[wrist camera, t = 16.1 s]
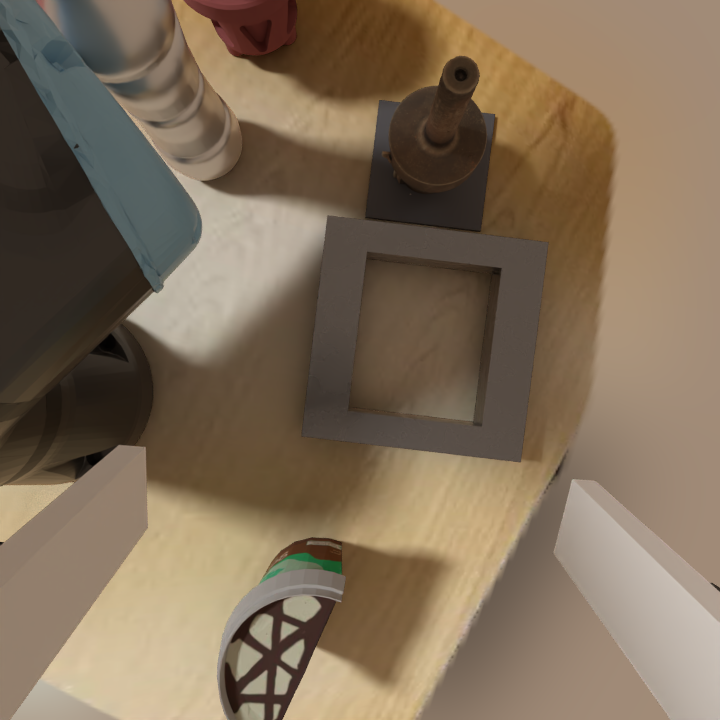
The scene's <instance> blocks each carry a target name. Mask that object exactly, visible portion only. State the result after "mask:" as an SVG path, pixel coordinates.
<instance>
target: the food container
mask: <svg viewBox="0 0 720 720" xmlns="http://www.w3.org/2000/svg"><path fill="white" fill-rule="evenodd" d="M345 580H346V576H343V575H342V543H341V542H338V541H335V540H332V539H329V538H308V539H304V540H300V541H296V542H294V543H292V544H291V545H289V546H288V547H286V548H285V549H283V550H281V551H280V553H279V554H278V555H277V556H276V557H275V558H274V560H273V561H272V562H271V564H270V566H269V568H268V569H267V571H266V573H265V575H264V576H263V578H262V580H261V582H260V583H259V585H258V586H256V587H255V588H253V589H252V590H251V591H250V592H249V593H248V594H247V595H246V596H245V597H243V598H242V600H241V601H240V602H239V604H238V605H237V606H236V607H235V609H234V610H233V612H232V614H231V616H230V618H229V619H228V621H227V624H226V627H225V630H224V632H223V636H222V641H221V647H220V652H219V658H218V667H217V680H218V688H219V695H220V701H221V704H222V707H223V711H224V714H225V716H226V718H227V720H282V719H283V717H284V715H285V713H286V711H287V708H288V706H289V704H290V702H291V700H292V698H293V696H294V693H295V691H296V689H297V687H298V685H299V683H300V681H301V679H302V677H303V675H304V673H305V671H306V668H307V666H308V664H309V661H310V659H311V657H312V654H313V652H314V650H315V647H316V645H317V643H318V641H319V638H320V636H321V634H322V632H323V629H324V627H325V625H326V623H327V621H328V618H329V616H330V614H331V612H332V610H333V607H334V605H335V603H336V601H338V602H341V601H342V594H343V592H344V586H345Z"/></svg>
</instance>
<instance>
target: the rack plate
mask: <svg viewBox="0 0 720 720" xmlns="http://www.w3.org/2000/svg"><path fill="white" fill-rule="evenodd" d="M548 243H549V242H542V241H533V240H525V239H517V238H509V237H501V236H492V235H484V234H476V233H468V232H460V231H451V230H443V229H435V228H427V227H419V226H411V225H402V224H394V223H386V222H378V221H370V220H361V219H353V218H345V217H337V216H329V215H328V216H327V224H326V233H325V241H324V250H323V258H322V267H321V275H320V284H319V292H318V301H317V309H316V318H315V326H314V334H313V343H312V351H311V360H310V368H309V377H308V385H307V394H306V402H305V411H304V419H303V427H302V436H304V437H312V438H320V439H329V440H337V441H346V442H354V443H362V444H371V445H379V446H388V447H396V448H405V449H413V450H421V451H430V452H438V453H447V454H455V455H463V456H472V457H480V458H489V459H497V460H506V461H514V462H521V455H522V448H523V440H524V432H525V424H526V416H527V408H528V400H529V392H530V384H531V377H532V369H533V361H534V353H535V345H536V337H537V329H538V321H539V314H540V306H541V298H542V290H543V282H544V274H545V266H546V258H547V250H548ZM366 259H374V260H382V261H390V262H398V263H407V264H415V265H423V266H431V267H440V268H448V269H456V270H464V271H472V272H481V273H489V274H492V276H491V285H490V293H489V301H488V309H487V317H486V325H485V333H484V341H483V349H482V357H481V365H480V373H479V381H478V389H477V397H476V405H475V413H474V421H473V422H471V421H463V420H454V419H446V418H437V417H429V416H421V415H412V414H404V413H395V412H387V411H379V410H370V409H362V408H354V407H349V399H350V391H351V382H352V374H353V366H354V357H355V349H356V341H357V332H358V324H359V316H360V307H361V299H362V291H363V282H364V274H365V266H366Z"/></svg>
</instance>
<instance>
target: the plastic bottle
mask: <svg viewBox="0 0 720 720" xmlns="http://www.w3.org/2000/svg"><path fill="white" fill-rule="evenodd" d="M36 2H37V3H38V4H39V5H40V6H41V8H42V9H43V10H44V11H45V12H46V14H47V15H48V16H49V17H50V19H51V20H52V21H53V22H54V23H55V25H56V26H57V28H58V29H59V31H60V32H61V33H62V35H63V36H64V37H65V38H66V39H67V41H68V42H69V43H70V44H71V45H72V47H73V48H74V49H75V50H76V51H77V53H78V54H79V55H80V56H81V58H82V59H83V61H84V62H85V64H86V65H87V66H88V67H89V68H90V69H91V70H92V71H93V72H94V73H95V75H96V76H97V77H98V78H99V80H100V81H101V82H102V83H103V84H104V86H105V87H106V88H107V89H108V91H109V92H110V93H111V94H112V96H113V97H114V98H115V99H116V101H117V102H118V103H119V104H121V105H122V106H123V107H124V108H125V109H126V110H127V111H128V112H129V113H130V114H131V115H132V116H134V117H135V118H136V119H137V120H138V122H139V123H140V124H141V126H142V127H143V128H144V129H145V131H146V132H147V133H148V135H149V136H150V137H151V139H152V141H153V142H154V144H155V146H156V148H157V150H158V151H159V153H160V154H161V156H162V157H163V158H164V160H165V161H166V162H167V163H168V164H169V165H170V166H171V167H172V168H173V169H175V170H176V171H178V172H180V173H182V174H183V175H185V176H187V177H189V178H192V179H195V180H203V181H206V180H213V179H216V178H219V177H221V176H223V175H225V174H226V173H228V172H229V171H230V170H231V169H232V168H233V167H234V166H235V165H236V163H237V161H238V159H239V157H240V154H241V151H242V135H241V131H240V127H239V123H238V120H237V118H236V116H235V114H234V112H233V111H232V110H231V109H230V107H229V106H228V105H227V104H226V103H225V101H224V100H223V99H222V98H221V97H220V96H219V95H218V94H217V93H216V92H215V91H214V89H213V88H212V87H211V85H210V84H209V82H208V81H207V80H206V78H205V77H204V76H203V74H202V73H201V71H200V69H199V67H198V65H197V63H196V61H195V59H194V57H193V55H192V53H191V51H190V49H189V47H188V45H187V43H186V40H185V37H184V34H183V32H182V29H181V26H180V23H179V21H178V18H177V15H176V12H175V10H174V7H173V5H172V1H171V0H36Z"/></svg>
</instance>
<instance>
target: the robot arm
mask: <svg viewBox="0 0 720 720" xmlns="http://www.w3.org/2000/svg"><path fill="white" fill-rule="evenodd" d="M201 234H202V220H201V216H200V213H199V210H198V208H197V206H196V205H195V203H194V202H193V200H192V199H191V197H190V196H189V194H188V193H187V192H186V190H185V189H184V187H183V186H182V185H181V183H180V182H179V181H178V179H177V178H176V177H175V175H174V174H173V173H172V171H171V170H170V169H169V167H168V166H167V165H166V163H165V162H164V161H163V159H162V158H161V157H160V156H159V154H158V153H157V152H156V150H155V149H154V148H153V146H152V145H151V144H150V143H149V141H148V140H147V139H146V137H145V136H144V135H143V134H142V132H141V131H140V130H139V128H138V127H137V126H136V125H135V123H134V122H133V121H132V120H131V118H130V117H129V116H128V115H127V113H126V112H125V111H124V110H123V108H122V107H121V106H120V104H119V103H118V102H117V101H116V99H115V98H114V97H113V96H112V94H111V93H110V92H109V91H108V89H107V88H106V87H105V86H104V84H103V83H102V82H101V81H100V80H99V78H98V77H97V76H96V75H95V73H94V72H93V71H92V70H91V69H90V68H89V67H88V66H87V65H86V64H85V62H84V61H83V59H82V58H81V56H80V55H79V54H78V53H77V51H76V50H75V49H74V48H73V47H72V45H71V44H70V43H69V42H68V41H67V39H66V38H65V37H64V36H63V35H62V33H61V32H60V31H59V29H58V28H57V26H56V25H55V23H54V22H53V21H52V20H51V19H50V17H49V16H48V15H47V14H46V12H45V11H44V10H43V9H42V8H41V6H40V5H39V4H38V3H37V2H36V0H0V486H3V485H56V484H63V483H68V482H73V481H76V480H77V481H76V482H75V483H74V484H72V485H71V486H70V487H69V488H68V489H67V490H65V491H64V492H63V493H62V494H61V495H59V496H58V497H57V498H56V499H55V500H54V501H52V502H51V503H50V504H49V505H48V506H47V507H45V508H44V509H43V510H42V511H41V512H39V513H38V514H37V515H36V516H35V517H34V518H32V519H31V520H30V521H29V522H28V523H26V524H25V525H24V526H23V527H22V528H21V529H19V530H18V531H17V532H16V533H15V534H13V535H12V536H11V537H10V538H9V539H8V540H6V541H5V542H0V720H10V719H11V718H12V716H13V715H14V714H15V712H16V711H17V709H18V708H19V707H20V705H21V704H22V703H23V701H24V700H25V698H26V697H27V696H28V694H29V693H30V691H31V690H32V689H33V687H34V686H35V684H36V683H37V682H38V680H39V679H40V677H41V676H42V675H43V673H44V672H45V670H46V669H47V668H48V666H49V665H50V663H51V662H52V661H53V659H54V658H55V656H56V655H57V654H58V652H59V651H60V649H61V648H62V647H63V645H64V644H65V643H66V641H67V640H68V638H69V637H70V636H71V634H72V633H73V631H74V630H75V629H76V627H77V626H78V624H79V623H80V622H81V620H82V619H83V617H84V616H85V615H86V613H87V612H88V610H89V609H90V608H91V606H92V605H93V603H94V602H95V601H96V599H97V598H98V596H99V595H100V594H101V592H102V591H103V589H104V588H105V587H106V585H107V584H108V583H109V581H110V580H111V578H112V577H113V576H114V574H115V573H116V571H117V570H118V569H119V567H120V566H121V564H122V563H123V562H124V560H125V559H126V557H127V556H128V555H129V553H130V552H131V550H132V549H133V548H134V546H135V545H136V543H137V542H138V541H139V539H140V538H141V536H142V535H143V534H144V532H145V531H146V529H147V528H148V517H147V477H146V447H140V446H134V445H135V443H136V442H137V441H138V439H139V438H140V436H141V434H142V432H143V430H144V428H145V426H146V424H147V421H148V418H149V415H150V411H151V407H152V399H153V385H152V377H151V372H150V368H149V365H148V362H147V359H146V357H145V354H144V352H143V350H142V349H141V347H140V345H139V344H138V342H137V341H136V339H135V338H134V337H133V336H132V334H131V333H130V332H129V331H128V330H127V329H126V328H125V327H124V326H123V325H122V324H121V323H122V322H123V321H124V320H125V319H126V318H127V317H128V316H129V315H130V314H131V313H132V312H133V311H134V310H135V309H136V308H137V307H138V306H139V305H140V304H141V303H142V302H143V301H145V300H146V299H147V298H148V297H149V296H150V295H151V294H152V293H153V292H156V293H159V292H160V291H161V290H162V289H163V287H164V285H163V282H164V281H165V280H166V279H167V277H168V276H169V275H170V274H171V273H172V272H173V271H174V270H175V269H176V268H177V267H178V266H179V265H180V264H181V263H182V262H183V261H184V260H185V258H186V257H187V256H188V255H189V254H190V253H191V252H192V251H193V250H194V249H195V247H196V246H197V244H198V243H199V240H200V238H201ZM554 555H555V556H556V558H557V559H558V560H559V562H560V563H561V565H562V566H563V568H564V569H565V570H566V572H567V573H568V575H569V576H570V577H571V579H572V580H573V582H574V583H575V584H576V586H577V587H578V589H579V590H580V592H581V593H582V594H583V596H584V597H585V599H586V600H587V602H588V603H589V604H590V606H591V607H592V609H593V610H594V612H595V613H596V614H597V616H598V617H599V619H600V620H601V622H602V623H603V624H604V626H605V627H606V629H607V630H608V631H609V633H610V634H611V635H612V637H613V638H614V640H615V641H616V643H617V644H618V646H619V647H620V649H621V650H622V651H623V653H624V654H625V656H626V657H627V658H628V660H629V661H630V663H631V664H632V666H633V667H634V668H635V670H636V671H637V673H638V674H639V675H640V677H641V678H642V680H643V681H644V683H645V684H646V685H647V687H648V688H649V690H650V691H651V693H652V694H653V695H654V697H655V698H656V700H657V701H658V702H659V704H660V705H661V707H662V708H663V709H664V711H665V712H666V714H667V715H668V717H669V718H670V719H671V720H720V588H719V587H718V586H716V585H715V584H713V583H709V582H708V581H707V580H706V579H705V578H704V577H703V576H701V575H700V574H699V573H698V572H697V571H696V570H694V568H692V567H691V566H690V565H689V564H688V563H687V562H686V561H685V560H684V559H682V558H681V557H680V556H679V555H678V554H677V553H676V552H675V551H674V550H672V549H671V548H670V547H669V546H668V545H667V544H666V543H665V542H663V541H662V540H661V539H660V538H659V537H658V536H657V535H655V534H654V533H653V532H652V531H651V530H650V529H649V528H648V527H647V526H646V525H644V524H643V523H642V522H641V521H640V520H639V519H638V518H637V517H636V516H634V515H633V514H632V513H631V512H630V511H629V510H628V509H627V508H625V507H624V506H623V505H622V504H621V503H620V502H619V501H617V499H615V498H614V497H613V496H612V495H611V494H610V493H609V492H608V491H607V490H605V489H604V488H603V487H602V486H601V485H600V484H599V483H598V482H596V481H593V480H580V479H572V482H571V486H570V490H569V494H568V498H567V502H566V506H565V510H564V514H563V518H562V521H561V525H560V529H559V533H558V537H557V541H556V545H555V549H554Z"/></svg>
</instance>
